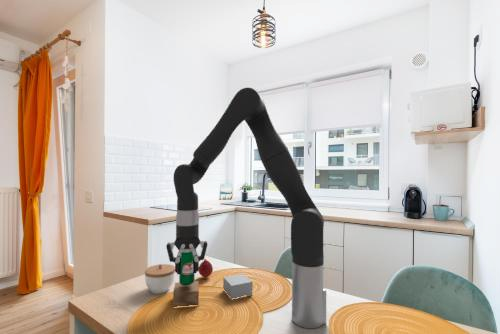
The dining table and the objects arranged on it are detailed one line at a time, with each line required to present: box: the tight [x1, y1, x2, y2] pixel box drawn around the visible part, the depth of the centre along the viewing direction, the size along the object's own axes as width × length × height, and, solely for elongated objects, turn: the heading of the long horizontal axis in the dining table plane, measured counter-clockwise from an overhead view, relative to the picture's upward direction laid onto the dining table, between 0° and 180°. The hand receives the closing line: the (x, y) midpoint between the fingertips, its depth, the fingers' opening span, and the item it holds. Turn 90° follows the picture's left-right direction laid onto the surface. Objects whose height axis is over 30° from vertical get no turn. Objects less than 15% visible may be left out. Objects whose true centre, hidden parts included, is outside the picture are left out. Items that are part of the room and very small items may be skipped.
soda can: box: [178, 248, 196, 285], centre depth 90 cm, size 5×5×12 cm
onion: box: [198, 258, 214, 279], centre depth 109 cm, size 6×6×8 cm
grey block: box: [222, 273, 253, 300], centre depth 96 cm, size 8×8×5 cm
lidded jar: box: [144, 263, 176, 295], centre depth 98 cm, size 11×11×9 cm
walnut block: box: [172, 280, 200, 308], centre depth 89 cm, size 8×8×5 cm
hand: (187, 272), depth 90 cm, fingers closed on soda can, 5 cm apart
